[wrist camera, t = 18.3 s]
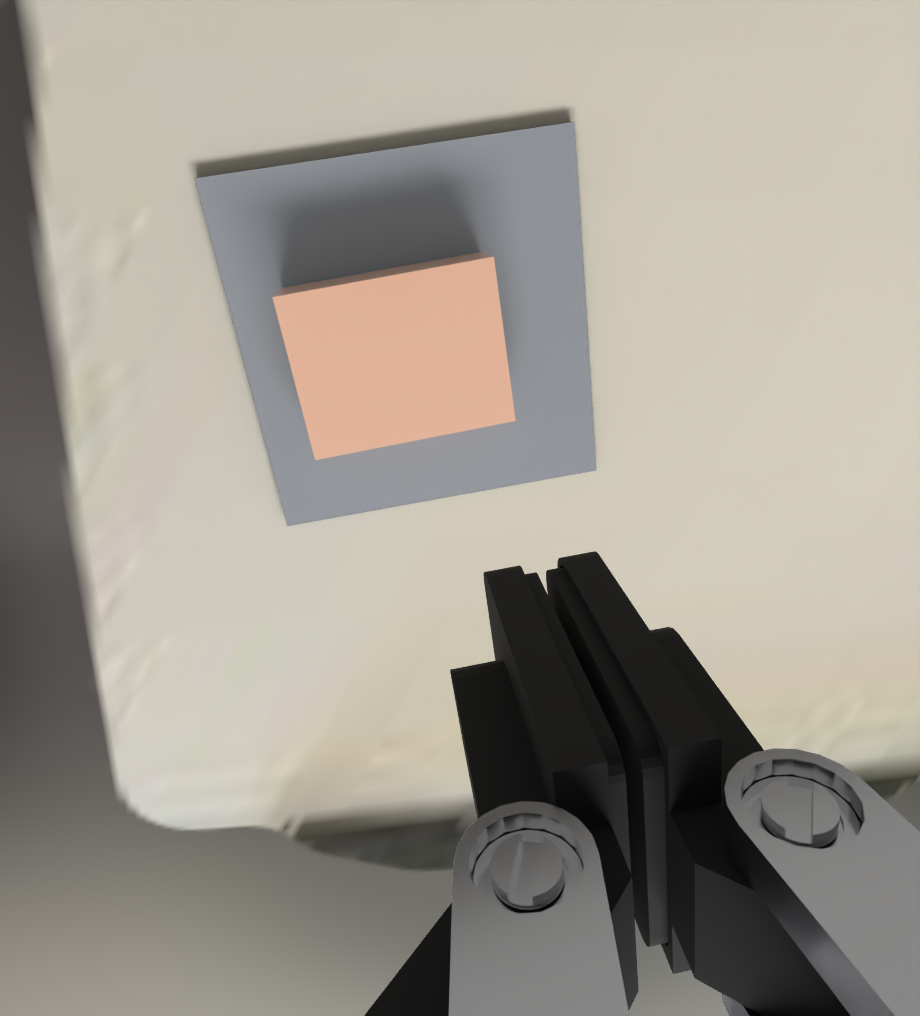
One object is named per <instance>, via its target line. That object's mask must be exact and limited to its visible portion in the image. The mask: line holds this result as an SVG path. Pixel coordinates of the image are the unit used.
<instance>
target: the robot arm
mask: <svg viewBox="0 0 920 1016" xmlns="http://www.w3.org/2000/svg"><path fill="white" fill-rule="evenodd" d="M546 581H547V591H548V595H547V593H546V591H545V589H544V587H543V584H542V582H541V580H540V578H539V576H538V574H537V573H536V572H535V573H530V574H524V572H523V569H522V568H521V566H515V567H509V568H504V569H499V570H494V571H488V572H484V584H485V591H486V598H487V605H488V612H489V619H490V626H491V633H492V640H493V647H494V654H495V660H496V661H492V662H487V663H482V664H477V665H472V666H467V667H462V668H457V669H452V670H450V672H451V678H452V684H453V689H454V695H455V701H456V706H457V712H458V717H459V723H460V728H461V734H462V739H463V745H464V750H465V755H466V761H467V766H468V771H469V777H470V782H471V787H472V792H473V797H474V803H475V808H476V813H477V818H478V819H477V820H476V821H475V822H474V823H473V824H472V825H471V826H470V827H469V828H468V829H467V830H466V832H465V833H464V835H463V837H462V839H461V840H460V842H459V844H458V845H457V849H456V854H455V859H454V864H453V887H452V890H453V891H452V903H451V904H450V906H449V907H448V908H447V910H446V911H445V912H444V914H443V915H442V916H441V917H440V919H439V920H438V921H437V923H436V924H435V925H434V926H433V928H432V929H431V930H430V932H429V933H428V934H427V935H426V937H425V938H424V939H423V941H422V942H421V944H419V946H418V947H417V948H416V950H415V951H414V952H413V954H412V955H411V956H410V958H409V959H408V960H407V961H406V963H405V964H404V965H403V966H402V968H401V969H400V970H399V972H398V973H397V974H396V976H395V977H394V978H393V980H392V981H391V982H390V983H389V985H388V986H387V987H386V988H385V990H384V991H383V992H382V994H381V995H380V996H379V997H378V999H377V1000H376V1001H375V1003H374V1004H373V1005H372V1007H371V1008H370V1009H369V1010H368V1012H367V1013H366V1014H365V1016H629V1009H630V1007H631V1005H632V1003H633V1001H634V999H635V997H636V995H637V993H638V976H637V958H636V940H635V922H634V917H635V920H636V922H637V925H638V928H639V930H640V933H641V935H642V937H643V940H644V942H645V943H646V945H647V946H648V947H650V946H654V945H659V944H661V945H662V948H663V950H664V953H665V955H666V958H667V960H668V963H669V965H670V967H671V970H672V972H673V974H674V973H679V972H683V971H688V970H692V973H693V975H694V977H695V979H697V980H699V981H701V982H703V983H704V984H706V985H708V986H710V987H712V988H714V989H715V990H717V991H719V992H721V994H722V1000H723V1003H724V1006H725V1008H726V1010H727V1012H728V1014H729V1016H920V832H919V831H918V830H917V829H915V828H914V827H913V826H912V825H911V824H910V823H909V822H908V821H907V820H906V819H904V818H903V817H902V816H901V815H900V814H899V813H898V812H897V811H896V810H895V809H894V808H892V807H891V806H890V805H889V804H888V803H887V802H886V801H885V800H884V799H883V798H881V797H880V796H879V795H878V794H877V793H876V792H875V791H874V790H873V789H872V788H870V787H869V786H868V785H867V784H866V783H865V782H864V781H863V780H862V779H861V778H859V777H858V776H856V775H855V774H854V773H852V772H851V771H850V770H848V769H847V768H845V767H844V766H843V765H841V764H839V763H837V762H835V761H832V760H830V759H828V758H826V757H823V756H821V755H819V754H815V753H810V752H806V751H802V750H798V749H769V750H763V748H762V747H761V746H760V744H759V743H758V742H757V740H756V739H755V737H754V736H753V735H752V733H751V732H750V731H749V729H748V728H747V727H746V725H745V724H744V722H743V721H742V720H741V718H740V717H739V716H738V714H737V713H736V712H735V710H734V709H733V707H732V706H731V705H730V703H729V702H728V701H727V699H726V698H725V697H724V695H723V694H722V692H721V691H720V690H719V688H718V687H717V686H716V684H715V683H714V681H713V680H712V679H711V677H710V676H709V675H708V673H707V672H706V671H705V669H704V668H703V666H702V665H701V664H700V662H699V661H698V660H697V658H696V657H695V656H694V654H693V653H692V651H691V650H690V649H689V647H688V646H687V645H686V643H685V642H684V641H683V639H682V638H681V636H680V635H679V634H678V633H677V632H676V631H675V630H674V629H673V628H670V627H666V628H661V629H655V630H649V629H648V627H647V626H646V624H645V623H644V621H643V620H642V618H641V617H640V615H639V614H638V612H637V611H636V609H635V608H634V606H633V605H632V603H631V602H630V600H629V599H628V597H627V596H626V594H625V593H624V591H623V590H622V588H621V587H620V585H619V584H618V582H617V581H616V579H615V578H614V576H613V575H612V573H611V572H610V570H609V569H608V567H607V566H606V565H605V563H604V562H603V560H602V559H601V557H600V556H599V554H598V553H597V552H589V553H584V554H579V555H573V556H568V557H563V558H559V559H558V568H557V569H551V570H547V572H546Z"/></svg>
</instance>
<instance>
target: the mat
mask: <svg viewBox="0 0 920 1016" xmlns="http://www.w3.org/2000/svg"><path fill="white" fill-rule="evenodd" d="M194 179H195V183H196V187H197V190H198V194H199V198H200V202H201V205H202V209H203V213H204V216H205V220H206V224H207V228H208V231H209V235H210V239H211V243H212V246H213V250H214V254H215V258H216V261H217V265H218V269H219V273H220V276H221V280H222V284H223V288H224V291H225V295H226V299H227V302H228V306H229V310H230V314H231V317H232V321H233V325H234V329H235V332H236V336H237V340H238V344H239V347H240V351H241V355H242V359H243V362H244V366H245V370H246V373H247V377H248V381H249V385H250V388H251V392H252V396H253V400H254V403H255V407H256V411H257V415H258V418H259V422H260V426H261V430H262V433H263V437H264V441H265V445H266V448H267V452H268V456H269V459H270V463H271V467H272V471H273V474H274V478H275V482H276V486H277V489H278V493H279V497H280V501H281V504H282V508H283V512H284V516H285V519H286V523H287V526H291V525H296V524H302V523H308V522H313V521H319V520H324V519H330V518H335V517H341V516H346V515H352V514H357V513H363V512H368V511H374V510H379V509H385V508H391V507H396V506H402V505H407V504H413V503H418V502H424V501H429V500H435V499H440V498H446V497H451V496H457V495H462V494H468V493H473V492H479V491H485V490H490V489H496V488H501V487H507V486H512V485H518V484H523V483H529V482H534V481H540V480H545V479H551V478H556V477H562V476H567V475H573V474H579V473H584V472H590V471H595V470H596V457H595V441H594V426H593V410H592V394H591V378H590V362H589V346H588V330H587V314H586V298H585V283H584V267H583V251H582V235H581V219H580V203H579V187H578V171H577V156H576V140H575V124H574V122H570V123H563V124H556V125H550V126H543V127H536V128H529V129H523V130H516V131H509V132H503V133H496V134H489V135H482V136H476V137H469V138H462V139H456V140H449V141H442V142H435V143H429V144H422V145H415V146H409V147H402V148H395V149H388V150H382V151H375V152H368V153H362V154H355V155H348V156H341V157H335V158H328V159H321V160H315V161H308V162H301V163H294V164H288V165H281V166H274V167H268V168H261V169H254V170H247V171H241V172H234V173H227V174H221V175H214V176H207V177H200V178H194ZM476 252H485V253H487V254H489V255H491V256H494V261H495V269H496V276H497V284H498V291H499V299H500V306H501V314H502V322H503V329H504V337H505V344H506V352H507V359H508V367H509V374H510V382H511V389H512V397H513V404H514V412H515V420H516V421H513V422H508V423H503V424H498V425H492V426H487V427H482V428H477V429H472V430H467V431H462V432H457V433H452V434H447V435H441V436H436V437H431V438H426V439H421V440H416V441H411V442H406V443H401V444H396V445H390V446H385V447H380V448H375V449H370V450H365V451H360V452H355V453H350V454H345V455H339V456H334V457H329V458H324V459H319V460H315V458H314V454H313V450H312V446H311V443H310V439H309V435H308V431H307V427H306V423H305V420H304V416H303V412H302V408H301V404H300V401H299V397H298V393H297V389H296V385H295V382H294V378H293V374H292V370H291V366H290V363H289V359H288V355H287V351H286V347H285V344H284V340H283V336H282V332H281V328H280V324H279V321H278V317H277V313H276V309H275V305H274V302H273V298H272V297H273V296H274V295H275V293H276V292H277V291H278V290H279V289H280V288H284V287H290V286H295V285H301V284H306V283H312V282H317V281H323V280H328V279H334V278H339V277H345V276H350V275H356V274H361V273H367V272H372V271H378V270H383V269H388V268H394V267H399V266H405V265H410V264H416V263H421V262H427V261H432V260H438V259H443V258H449V257H454V256H460V255H465V254H471V253H476Z"/></svg>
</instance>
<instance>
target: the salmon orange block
mask: <svg viewBox="0 0 920 1016" xmlns="http://www.w3.org/2000/svg"><path fill="white" fill-rule="evenodd" d="M272 298H273V302H274V305H275V309H276V313H277V317H278V321H279V324H280V328H281V332H282V336H283V340H284V344H285V347H286V351H287V355H288V359H289V363H290V366H291V370H292V374H293V378H294V382H295V385H296V389H297V393H298V397H299V401H300V404H301V408H302V412H303V416H304V420H305V423H306V427H307V431H308V435H309V439H310V443H311V446H312V450H313V454H314V458H315V460H319V459H324V458H329V457H334V456H339V455H345V454H350V453H355V452H360V451H365V450H370V449H375V448H380V447H385V446H390V445H396V444H401V443H406V442H411V441H416V440H421V439H426V438H431V437H436V436H441V435H447V434H452V433H457V432H462V431H467V430H472V429H477V428H482V427H487V426H492V425H498V424H503V423H508V422H513V421H516V420H515V412H514V404H513V397H512V389H511V382H510V374H509V367H508V359H507V352H506V344H505V337H504V329H503V322H502V314H501V306H500V299H499V291H498V284H497V276H496V269H495V261H494V256H491V255H489V254H487V253H485V252H476V253H471V254H465V255H460V256H454V257H449V258H443V259H438V260H432V261H427V262H421V263H416V264H410V265H405V266H399V267H394V268H388V269H383V270H378V271H372V272H367V273H361V274H356V275H350V276H345V277H339V278H334V279H328V280H323V281H317V282H312V283H306V284H301V285H295V286H290V287H284V288H280V289H279V290H278V291H277V292H276V293H275V295H274V296H273V297H272Z"/></svg>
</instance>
